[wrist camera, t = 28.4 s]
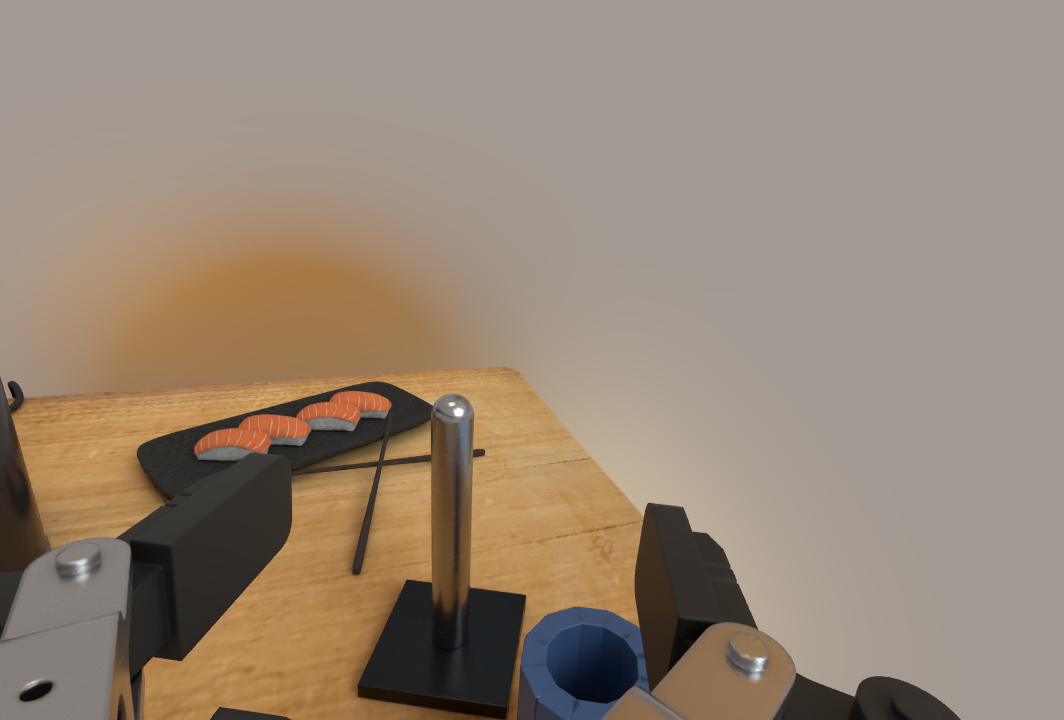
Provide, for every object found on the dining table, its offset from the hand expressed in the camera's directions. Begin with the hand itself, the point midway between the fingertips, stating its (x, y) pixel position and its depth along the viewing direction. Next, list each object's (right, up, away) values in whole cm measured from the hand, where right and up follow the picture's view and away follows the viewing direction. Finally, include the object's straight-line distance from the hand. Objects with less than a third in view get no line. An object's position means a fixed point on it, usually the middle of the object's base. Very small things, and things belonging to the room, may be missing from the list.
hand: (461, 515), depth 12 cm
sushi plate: (-18, -8, +44) cm, 49 cm away
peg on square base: (-4, -16, +24) cm, 29 cm away
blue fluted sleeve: (+4, -19, +16) cm, 25 cm away
